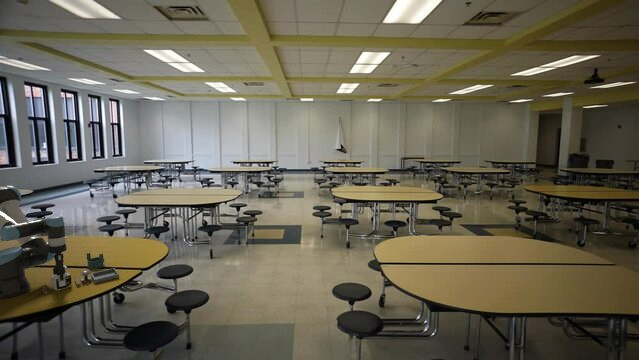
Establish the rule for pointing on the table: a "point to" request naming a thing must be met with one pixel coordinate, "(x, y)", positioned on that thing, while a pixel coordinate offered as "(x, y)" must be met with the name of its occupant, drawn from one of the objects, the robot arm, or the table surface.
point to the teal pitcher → (95, 261)
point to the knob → (85, 276)
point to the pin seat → (75, 281)
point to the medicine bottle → (56, 281)
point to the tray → (104, 275)
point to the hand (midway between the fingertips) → (61, 282)
